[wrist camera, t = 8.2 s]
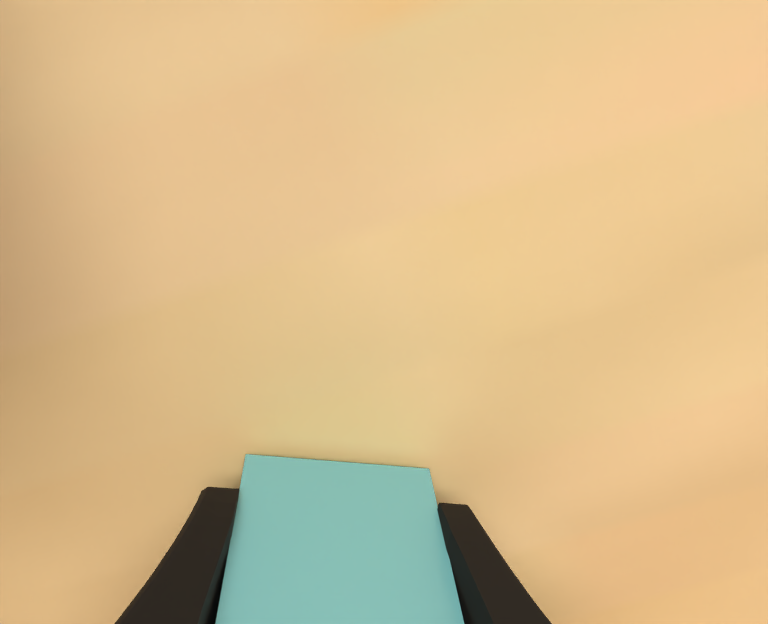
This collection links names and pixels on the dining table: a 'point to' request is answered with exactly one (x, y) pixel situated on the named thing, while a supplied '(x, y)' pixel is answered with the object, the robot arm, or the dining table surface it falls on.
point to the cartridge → (336, 546)
